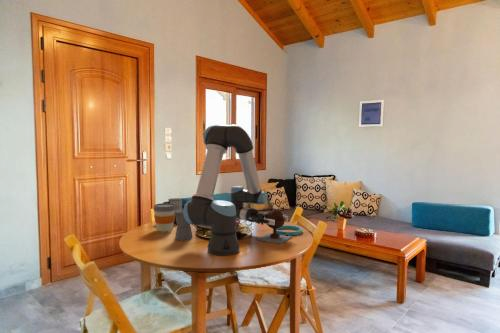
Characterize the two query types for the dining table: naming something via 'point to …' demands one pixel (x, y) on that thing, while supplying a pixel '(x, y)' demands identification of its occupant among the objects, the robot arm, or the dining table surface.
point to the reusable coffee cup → (164, 216)
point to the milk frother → (176, 205)
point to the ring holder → (289, 232)
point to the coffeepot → (182, 226)
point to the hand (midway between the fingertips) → (281, 220)
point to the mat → (274, 240)
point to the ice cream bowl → (276, 221)
